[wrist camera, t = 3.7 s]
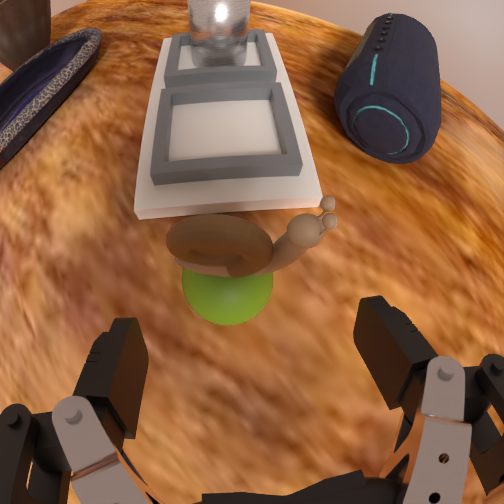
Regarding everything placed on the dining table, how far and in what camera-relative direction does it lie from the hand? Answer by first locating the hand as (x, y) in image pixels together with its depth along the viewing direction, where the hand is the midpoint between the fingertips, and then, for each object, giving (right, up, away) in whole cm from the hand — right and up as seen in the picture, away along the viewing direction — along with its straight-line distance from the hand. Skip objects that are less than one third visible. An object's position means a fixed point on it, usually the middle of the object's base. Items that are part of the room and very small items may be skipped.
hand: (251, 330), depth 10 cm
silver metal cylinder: (-4, +24, +17) cm, 30 cm away
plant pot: (-38, +36, +21) cm, 56 cm away
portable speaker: (+15, +21, +19) cm, 32 cm away
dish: (-29, +20, +16) cm, 39 cm away
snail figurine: (-1, 0, +10) cm, 10 cm away
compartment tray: (-3, +18, +16) cm, 25 cm away
